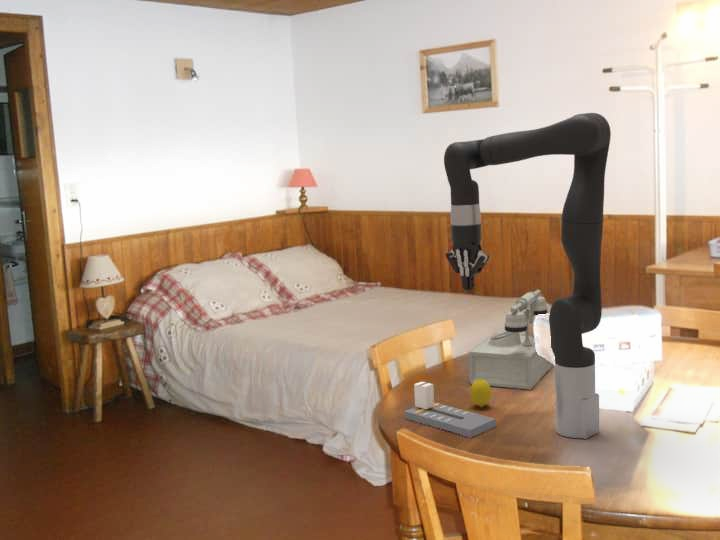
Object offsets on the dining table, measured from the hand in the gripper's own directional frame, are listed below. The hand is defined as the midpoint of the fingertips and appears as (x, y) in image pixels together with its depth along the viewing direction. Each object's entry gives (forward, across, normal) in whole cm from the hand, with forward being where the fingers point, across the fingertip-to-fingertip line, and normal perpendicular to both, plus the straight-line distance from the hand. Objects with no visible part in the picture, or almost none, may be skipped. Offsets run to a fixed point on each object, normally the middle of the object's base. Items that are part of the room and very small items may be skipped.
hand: (468, 290), depth 208 cm
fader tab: (+31, +9, +8) cm, 33 cm away
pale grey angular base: (+33, +12, -36) cm, 50 cm away
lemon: (+33, +2, -6) cm, 34 cm away
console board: (+33, +1, +8) cm, 34 cm away
